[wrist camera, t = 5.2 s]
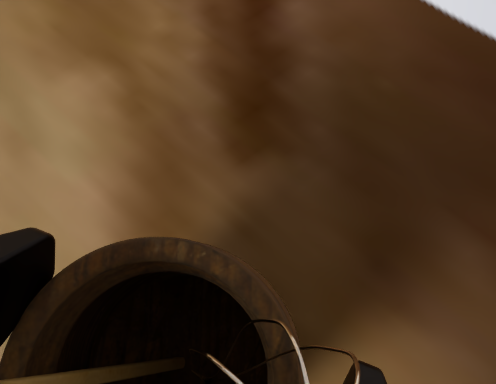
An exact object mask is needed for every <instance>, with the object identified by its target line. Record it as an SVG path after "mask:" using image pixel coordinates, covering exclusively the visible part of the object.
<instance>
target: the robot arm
mask: <svg viewBox="0 0 496 384" xmlns="http://www.w3.org/2000/svg"><path fill="white" fill-rule="evenodd" d="M54 270H55V239H54V237H53V236H52V235H51V234H49V233H47V232H44V231H42V230H39V229H37V228H26V229H22V230H18V231H14V232H10V233H6V234H2V235H0V346H1V345H2V344H3V343H4V342H5V340H6V339H7V338H8V336H9V335H10V334H11V333H12V331H13V330H14V328H15V327H16V325H17V323H18V322H19V320H20V318H21V316H22V314H23V313H24V311H25V310H26V308H27V306H28V305H29V304H30V302H31V301H32V300H33V299H34V297H35V296H36V295H37V294H38V292H39V291H40V290H41V289H42V288H43V287H44V286H45V285H46V284H47V283H48V282H49V281H50V280H51V279H52V278H53V275H54ZM358 362H359V366H360V381H359V384H387V382H386V380H385V377H384V375H383V372H382V371H381V370H380V369H379V368H377V367H375V366H372V365H370V364H367V363H365V362H362V361H360V360H358ZM355 372H356V370H355V364H354V363H353V365H352V366H351V369H350V371H349V373H348V375H347V377H346V379H345V381H344V383H343V384H354V382H355Z"/></svg>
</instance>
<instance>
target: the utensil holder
mask: <svg viewBox="0 0 496 384" xmlns="http://www.w3.org/2000/svg"><path fill="white" fill-rule="evenodd" d="M305 349H320V350H327V351H333V352H338V353H342V354H345V355H348V356H350V357H351V358H352V359H353V361H354V364H355V370H356V372H355V382H354V384H359V381H360V366H359V362H358V360H357V358H356V356H355V355H354V354H353V353H351V352H349V351H346V350H343V349H338V348H332V347H325V346H303V347H300V343H299V339H298V335H297V332H296V329H295V326H294V324H293V321H292V319H291V317H290V315H289V313H288V310H287V309H286V307H285V305H284V303H283V302H282V300H281V299H280V297H279V296H278V294H277V293H276V291H275V290H274V289H273V288H272V286H271V285H270V284H269V283H268V282H267V281H266V280H265V279H264V278H263V277H262V275H260V274H259V273H258V272H257V271H256V270H255V269H254V268H252V267H251V266H250V265H248V264H247V263H246V262H244V261H243V260H241V259H239V258H238V257H236V256H234V255H232V254H230V253H228V252H226V251H224V250H222V249H219V248H216V247H213V246H210V245H207V244H203V243H199V242H195V241H191V240H187V239H180V238H172V237H144V238H135V239H129V240H125V241H120V242H116V243H113V244H110V245H107V246H104V247H102V248H99V249H97V250H95V251H93V252H91V253H89V254H87V255H85V256H83V257H81V258H80V259H78V260H76V261H74V262H73V263H72V264H70V265H69V266H67V267H66V268H64V269H63V270H62V271H61V272H59V273H58V274H57V275H56V276H55V277H53V278H52V279H51V280H50V281H49V282H48V283H47V284H46V285H45V286H44V287H43V288H42V289H41V290H40V291H39V292H38V294H37V295H36V296H35V297H34V299H33V300H32V301H31V302H30V304H29V305H28V306H27V308H26V310H25V311H24V313H23V314H22V316H21V318H20V320H19V322H18V323H17V325H16V327H15V328H14V330H13V331H12V333H11V335H10V337H9V340H8V342H7V345H6V347H5V350H4V353H3V356H2V359H1V362H0V384H309V379H308V375H307V371H306V367H305V364H304V360H303V357H302V352H301V350H305Z"/></svg>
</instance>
